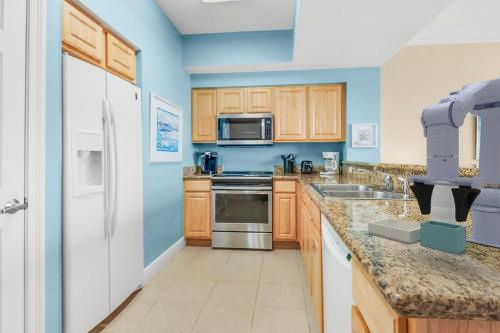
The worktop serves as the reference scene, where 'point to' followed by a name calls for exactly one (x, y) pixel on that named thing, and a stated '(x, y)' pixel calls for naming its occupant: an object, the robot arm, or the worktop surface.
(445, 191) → the water bottle
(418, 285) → the worktop surface
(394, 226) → the white crate
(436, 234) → the teal crate
